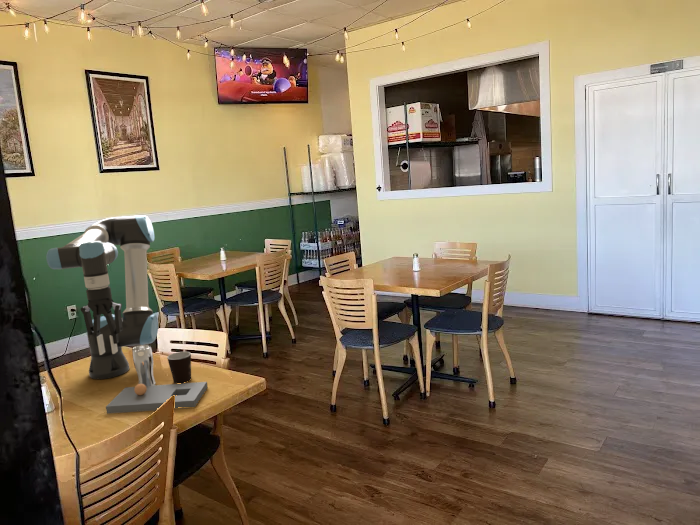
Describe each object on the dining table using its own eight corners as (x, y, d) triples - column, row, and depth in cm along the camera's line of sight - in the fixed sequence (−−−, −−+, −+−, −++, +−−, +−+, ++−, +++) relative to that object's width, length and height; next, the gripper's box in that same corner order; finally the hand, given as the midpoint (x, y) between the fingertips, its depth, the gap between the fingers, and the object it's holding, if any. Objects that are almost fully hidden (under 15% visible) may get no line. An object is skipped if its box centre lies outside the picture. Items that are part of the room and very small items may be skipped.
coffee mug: (187, 385, 204) (183, 359, 202) (166, 384, 206) (162, 359, 204) (201, 373, 215) (198, 348, 213) (181, 372, 217) (178, 348, 215)
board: (106, 413, 184) (105, 406, 184) (126, 393, 200) (125, 387, 200) (194, 407, 183) (194, 400, 183) (207, 388, 199) (206, 381, 199)
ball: (137, 392, 193) (136, 382, 193) (149, 392, 193) (147, 381, 193) (133, 397, 190) (131, 386, 189) (144, 396, 189) (143, 386, 189)
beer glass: (160, 382, 208) (155, 345, 206) (147, 389, 202) (141, 351, 199) (147, 380, 211) (141, 343, 209) (133, 388, 205) (127, 349, 202)
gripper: (67, 291, 181) (79, 358, 185) (117, 287, 181) (128, 355, 185) (79, 286, 189) (90, 351, 193) (127, 282, 188) (137, 347, 192)
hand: (108, 352), depth 189 cm, fingers open, 4 cm apart
